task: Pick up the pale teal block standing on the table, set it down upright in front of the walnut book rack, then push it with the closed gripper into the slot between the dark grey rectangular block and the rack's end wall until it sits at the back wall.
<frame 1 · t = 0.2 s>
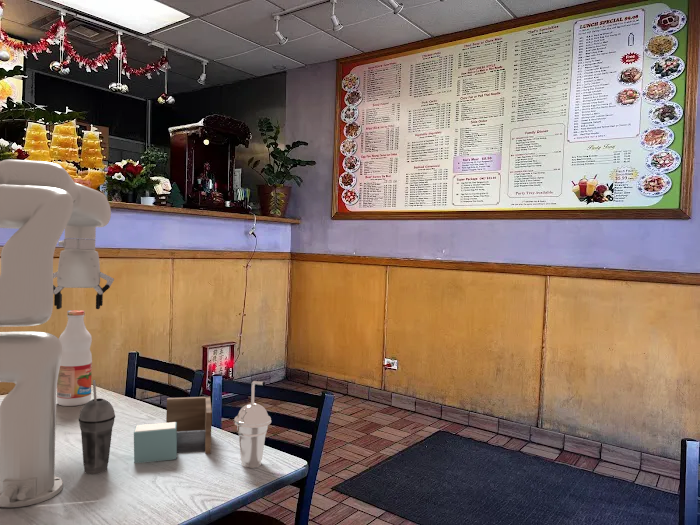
hand: (78, 308, 149), 31 cm above the table, tool pointing down, fingers open, 9 cm apart
pale teal block: (156, 457, 126), on the table, touching dark grey rectangular block
book rack: (188, 445, 135), on the table
cup with straw: (251, 465, 124), on the table
fruit juice: (74, 402, 167), on the table
dark grey rectangular block: (189, 447, 133), on the table
beverage cup: (95, 471, 118), on the table
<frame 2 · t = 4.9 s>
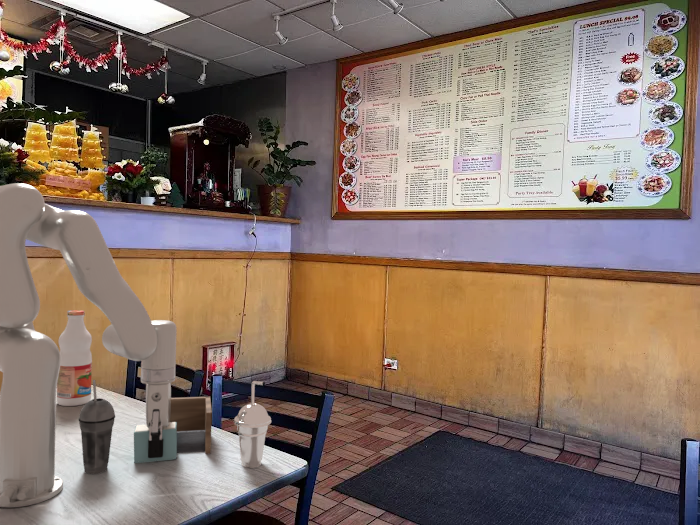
hand: (156, 451, 126), 1 cm above the table, tool pointing down, fingers closed on pale teal block, 5 cm apart
pale teal block: (156, 457, 126), on the table, touching dark grey rectangular block, gripper
everything else where it was.
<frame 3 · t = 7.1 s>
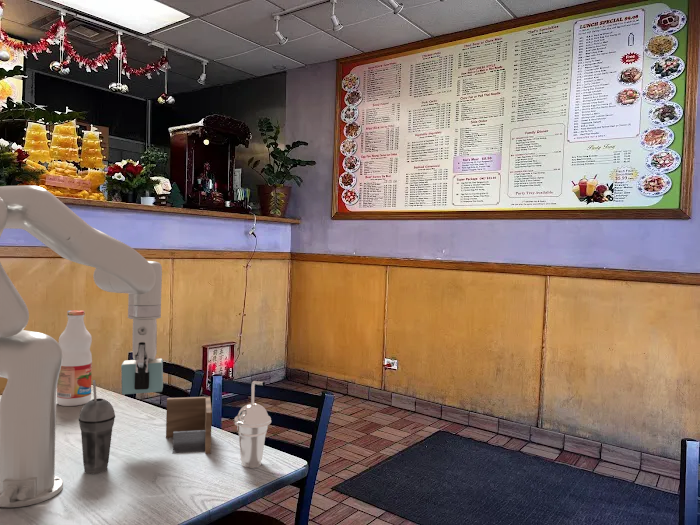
hand: (142, 385, 133), 15 cm above the table, tool pointing down, fingers closed on pale teal block, 5 cm apart
pale teal block: (143, 390, 133), point 14 cm above the table, touching gripper
everything else where it was.
when the fingers open (3 cm above the table, at t = 9.6 s): pale teal block drops 2 cm, on the table.
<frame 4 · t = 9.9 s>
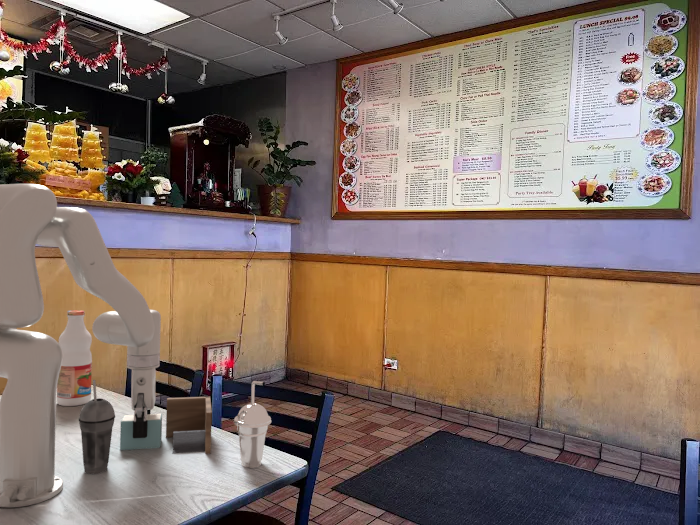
hand: (141, 431, 134), 4 cm above the table, tool pointing down, fingers open, 8 cm apart
pale teal block: (141, 446, 134), on the table
everything else where it was.
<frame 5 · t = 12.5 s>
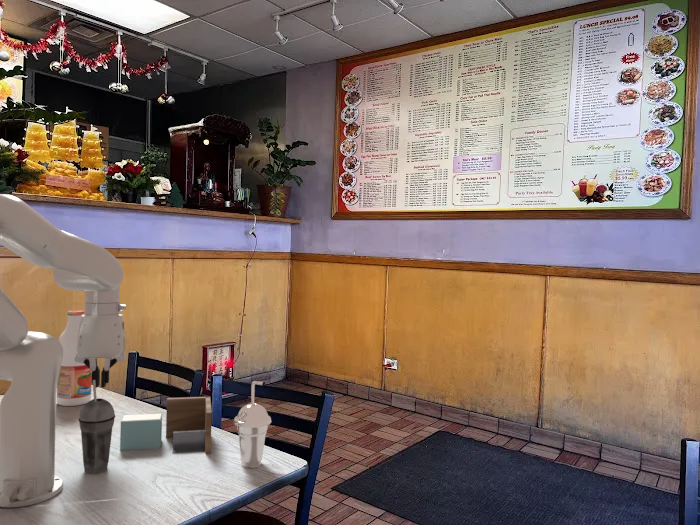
hand: (100, 386, 130), 15 cm above the table, tool pointing down, fingers closed
nothing on the table moved.
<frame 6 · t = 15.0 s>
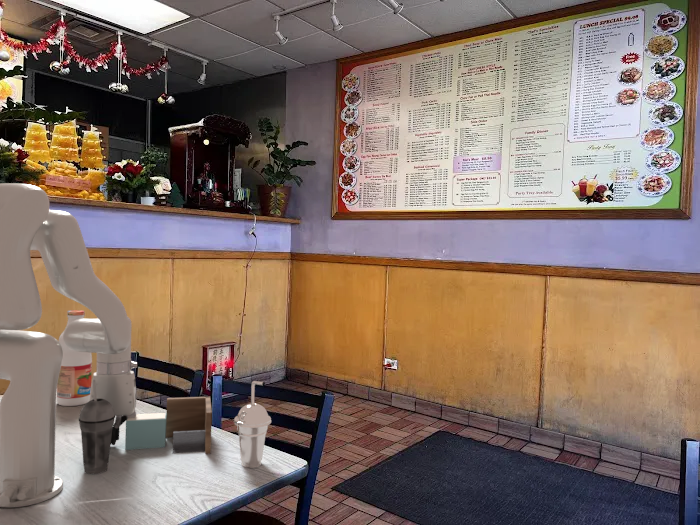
hand: (112, 443, 132), 1 cm above the table, tool pointing down, fingers closed
pale teal block: (146, 445, 134), on the table, touching gripper
everything else where it was.
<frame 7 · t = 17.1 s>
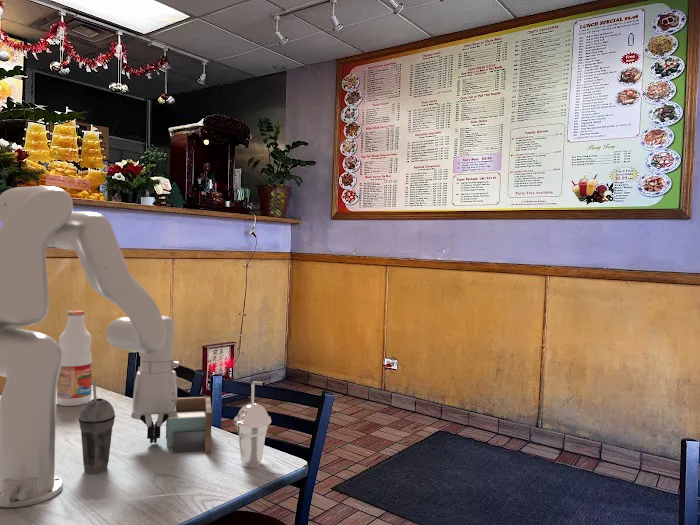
hand: (153, 441, 134), 1 cm above the table, tool pointing down, fingers closed
pale teal block: (186, 443, 137), on the table, touching book rack, gripper
everything else where it was.
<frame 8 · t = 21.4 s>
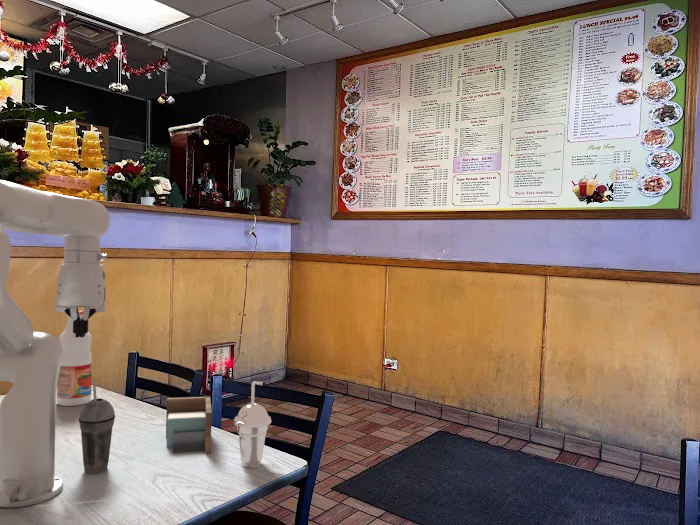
hand: (80, 336, 128), 27 cm above the table, tool pointing down, fingers closed
pale teal block: (186, 443, 137), on the table
everything else where it was.
at the end: pale teal block 0.4 cm from the target spot, on the table; pale teal block tilted 0°; the gripper is holding nothing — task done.
